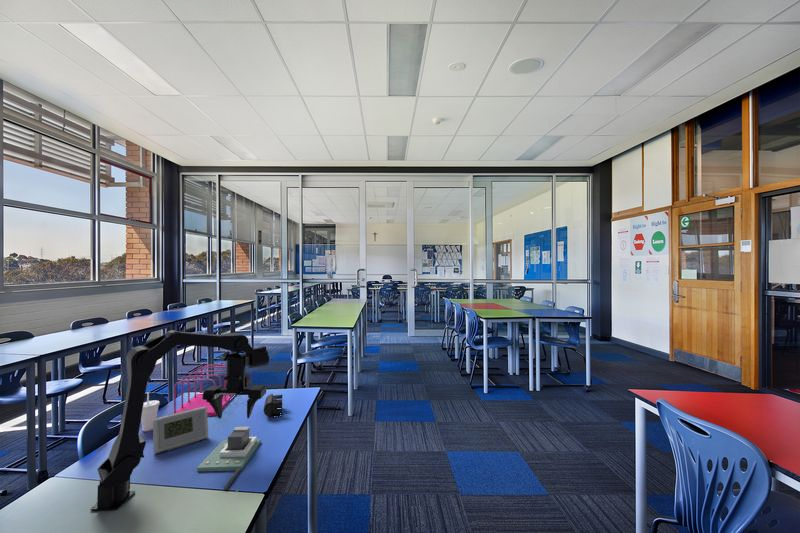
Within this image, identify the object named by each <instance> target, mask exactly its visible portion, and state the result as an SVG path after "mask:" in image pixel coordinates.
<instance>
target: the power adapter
mask: <svg viewBox="0 0 800 533" xmlns="http://www.w3.org/2000/svg"><path fill="white" fill-rule="evenodd" d="M277 408H282V409H277ZM280 413H281V414H280ZM263 414H264V415H265V416H266V417H268V418H270V417H273V418H275V417H274V416H280V415H282V416H283V394H276V395H275V394H274V393H270V394H268V395H267V396H266V398H265V401H264V406H263ZM280 417H281V416H280Z"/></svg>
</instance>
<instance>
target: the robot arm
mask: <svg viewBox="0 0 800 533" xmlns="http://www.w3.org/2000/svg"><path fill="white" fill-rule="evenodd" d="M249 342H250V341H249V338H248V337H247V336H246V335H244V334H241V333H237V332H226V333H219V334H211V333H201V332H190V331H189V332H188V331H179V330H178V331H177V330H173V329H171V330H168V331H167V332H166V333H164V334H162V335H160V336H158V337H156V338H154V339H151V340H149V341H148V342H146V343H145V344H143V345H138V346H135V347H133V348H132V349H130V350H129V351H128V352H127V354H126V356H125V358H126V372H127V373H126V374H127V381H128V383H127V387H126V392H125V398H124V405H123V410H122V417H121V422H120V429H119V432H118V435H117V437H116V439H115V440H114V442H113V445H112V446H111V450H110V452H109V455H108V457H107V459H105V461H103V462H102V463H101V465H100V466H99V467H98V468H97V472H98V475H99V479H100V481H99V484H98V485H97V493H96V494H97V498H96V499H97V500H96V503H95V504H94V505H93V506H92V507H91V508H90V512H93V511H95V512H96V511H117V510H118V509H119V508H120V507H122V506H123V504H125V503H126V502H127V501H128V500H129V499H130V498H132V496H134V495H135V494H136V491H135V490H130V489H131V476H132V473H133V472H134V469H136V468H137V467H138V466H140V463H141V460H142V459H143V458H145V455H144V450H145V447H146V444H147V440H146V439H145V438H144V436H143V434H140V426H141V416H142V410H143V405H144V402H145V398H146V393H147V385H148V381H149V380H150V378H151V375H153V372H154V370H155V367H156V365H157V362H158V360H160V359H161V358H162V357H165V356H166V355H167V354H168V353H169V352H170V351H171V350H172V349H173V348H175V347H176V346H188V347H189V346H191V347H204V348H205V347H208V348H218V349H222V350H226V351H224V353H223V354H222V355H221V356H219V360H222V361H224V362H226V363H225V364H226V366H225V367H226V368H225V369H226V370H225V371H226V372H225V375H226V376H225V377H224V376H223V379H224V380H226V388H225V389H224V387H223V385H221V386H220V385H216V386H214V385H211V386H209V387H207V389H205V390H204V391H202V392H203V394H202V399H203V400H206V402H209V403H210V405H211V406H212V407H213V409H214V410H215V412H216V414H217V415H216V417H217V418H218V419H219V420H221V418H222V417H223V409H222V399H223V395H235V396H247V397H248V399H247V400H246V418H247V419H250V417H251V415H252V413H253V410H254V407H255V404H256V403H257V401H258V400H261V399H262V398H263V397H265V395H266V394H267V386H265V385H264V384H262V385H257V384H255V385H253V386H252V387H251V388H248V387H249V386H251V385H252V380H253V376H252V375H248V372H247V371H246V367H248V368H249V369H254V368H258V367H264V366H267V365H269V363H270V362H269V361H270V356H269V352H268V351H267V347H266V346H264V345H261V346H257V347H252V346H251V345H250V344H249ZM227 351H230V352H231V353H229V352H227ZM224 380H223V381H224Z"/></svg>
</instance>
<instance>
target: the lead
mask: <svg viewBox="0 0 800 533" xmlns="http://www.w3.org/2000/svg"><path fill="white" fill-rule="evenodd" d="M241 471H242V470H241V467H238V469H237V470H234V473H233V474H232V475H231V476H230V478H229V480H228V481H227V482H226V484H225V485H224V487H223V489H224V490H227V489H228V488H229V487H230V486H231V485H232V483H233V482H234V480H235V479H236V477H237V476H238V475H239V473H240V472H241Z"/></svg>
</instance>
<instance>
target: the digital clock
mask: <svg viewBox="0 0 800 533" xmlns="http://www.w3.org/2000/svg"><path fill="white" fill-rule="evenodd" d="M173 413H174V412H173ZM208 422H209V421H208V416H207V408H206V407H200V408H196V409H190V410H186V411H182V412H178V413H174V414H172V413H170V414H168V415H163V416H161V417H156V419H155V420H154V421H153V429H152V436H153V438H152V441H153V442H152V443H153V448H152V449H153V453H154V454H159V453H162V452H169V451H171V450H174V449H178V448H182V447H185V446H188V445H191V444H195V443H197V442H198V441H201V440H204V439H207V438H209V424H208Z"/></svg>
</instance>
